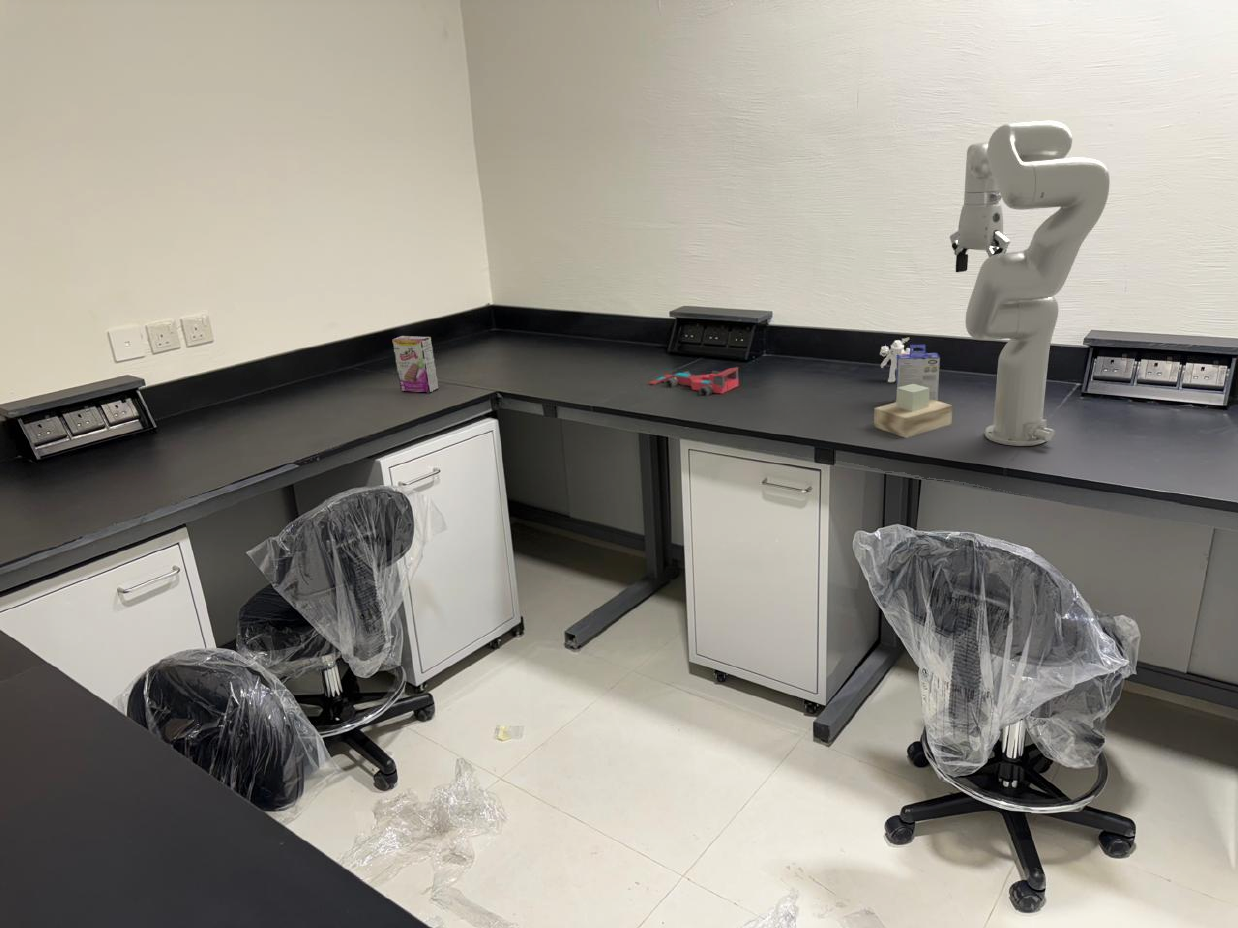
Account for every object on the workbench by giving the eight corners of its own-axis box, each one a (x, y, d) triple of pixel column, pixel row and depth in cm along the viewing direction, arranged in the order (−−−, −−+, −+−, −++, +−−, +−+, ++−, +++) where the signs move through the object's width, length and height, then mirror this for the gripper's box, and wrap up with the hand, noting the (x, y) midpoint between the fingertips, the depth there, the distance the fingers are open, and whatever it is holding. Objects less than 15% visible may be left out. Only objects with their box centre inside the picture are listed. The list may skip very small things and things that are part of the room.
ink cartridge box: (935, 399, 219) (938, 343, 213) (938, 406, 214) (941, 348, 208) (894, 400, 221) (896, 344, 216) (896, 407, 216) (898, 349, 211)
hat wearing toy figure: (914, 381, 235) (916, 337, 230) (909, 384, 232) (911, 340, 228) (881, 377, 240) (883, 334, 236) (876, 381, 237) (877, 338, 233)
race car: (671, 356, 259) (744, 364, 243) (672, 375, 261) (745, 385, 246) (642, 368, 249) (716, 377, 233) (643, 388, 251) (717, 399, 236)
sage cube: (928, 407, 200) (929, 388, 198) (912, 411, 198) (913, 392, 196) (912, 402, 204) (913, 383, 202) (896, 406, 202) (896, 387, 200)
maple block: (951, 426, 201) (952, 405, 200) (905, 439, 196) (906, 418, 194) (918, 415, 210) (919, 395, 208) (873, 428, 204) (874, 408, 202)
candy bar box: (400, 392, 266) (390, 339, 260) (410, 387, 270) (401, 335, 264) (430, 394, 261) (421, 340, 256) (440, 389, 266) (431, 336, 260)
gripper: (1023, 198, 197) (1017, 275, 203) (965, 196, 211) (961, 268, 218) (998, 202, 194) (992, 280, 200) (941, 199, 209) (938, 272, 215)
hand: (976, 273), depth 209 cm, fingers open, 9 cm apart
